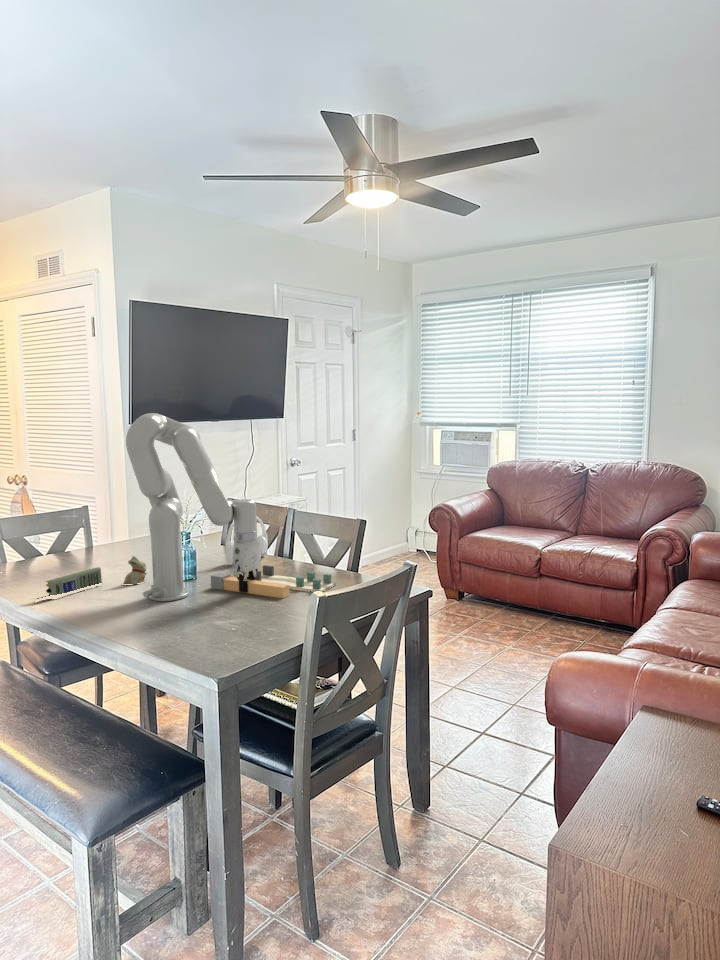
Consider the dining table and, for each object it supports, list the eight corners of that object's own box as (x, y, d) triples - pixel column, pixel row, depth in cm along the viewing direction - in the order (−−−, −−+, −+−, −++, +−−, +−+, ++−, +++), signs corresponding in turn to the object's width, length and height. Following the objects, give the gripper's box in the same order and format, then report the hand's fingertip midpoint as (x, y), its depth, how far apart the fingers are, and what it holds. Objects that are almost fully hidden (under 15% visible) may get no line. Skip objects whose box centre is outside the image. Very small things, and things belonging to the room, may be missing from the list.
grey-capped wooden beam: (282, 598, 213) (282, 585, 212) (211, 588, 225) (210, 575, 225) (290, 595, 216) (289, 582, 216) (219, 584, 229) (218, 572, 229)
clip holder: (321, 593, 218) (321, 580, 217) (246, 583, 231) (246, 571, 231) (335, 585, 227) (335, 573, 226) (263, 576, 240) (262, 564, 239)
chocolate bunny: (147, 584, 232) (145, 556, 230) (123, 586, 229) (121, 558, 228) (147, 580, 237) (145, 553, 236) (123, 582, 235) (122, 554, 233)
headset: (233, 567, 254) (232, 521, 252) (221, 564, 258) (220, 519, 256) (271, 557, 269) (270, 514, 267) (259, 554, 274) (258, 512, 272)
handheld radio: (103, 586, 231) (38, 605, 209) (97, 585, 232) (32, 604, 211) (102, 567, 230) (36, 585, 209) (95, 566, 232) (30, 584, 210)
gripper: (239, 542, 210) (241, 598, 212) (269, 532, 225) (270, 585, 227) (220, 540, 213) (222, 595, 216) (251, 531, 228) (252, 582, 230)
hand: (247, 589), depth 221 cm, fingers closed on grey-capped wooden beam, 3 cm apart
